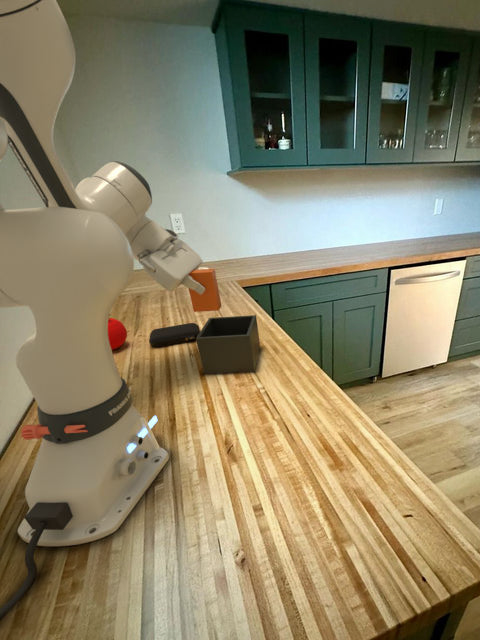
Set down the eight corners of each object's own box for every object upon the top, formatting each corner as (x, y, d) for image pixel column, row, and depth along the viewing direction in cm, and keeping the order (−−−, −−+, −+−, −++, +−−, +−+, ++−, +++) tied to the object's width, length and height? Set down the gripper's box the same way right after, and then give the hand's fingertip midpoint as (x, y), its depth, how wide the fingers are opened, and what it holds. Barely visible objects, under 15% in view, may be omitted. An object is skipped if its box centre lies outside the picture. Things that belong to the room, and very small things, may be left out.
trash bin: (254, 371, 82) (249, 335, 77) (203, 374, 83) (195, 338, 78) (260, 347, 94) (256, 315, 89) (215, 350, 94) (209, 317, 90)
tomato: (109, 340, 105) (97, 310, 100) (138, 341, 103) (128, 310, 98) (84, 355, 97) (70, 323, 92) (115, 357, 94) (103, 323, 89)
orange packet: (219, 310, 79) (211, 271, 75) (193, 312, 79) (184, 273, 75) (221, 306, 82) (214, 268, 77) (197, 307, 82) (188, 270, 77)
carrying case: (150, 351, 96) (202, 341, 100) (147, 341, 95) (200, 331, 99) (151, 337, 105) (199, 329, 109) (148, 328, 104) (197, 320, 108)
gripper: (141, 243, 63) (203, 291, 68) (175, 229, 81) (222, 268, 86) (125, 269, 66) (186, 313, 70) (162, 250, 83) (208, 286, 88)
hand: (206, 288), depth 78 cm, fingers closed on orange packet, 3 cm apart
